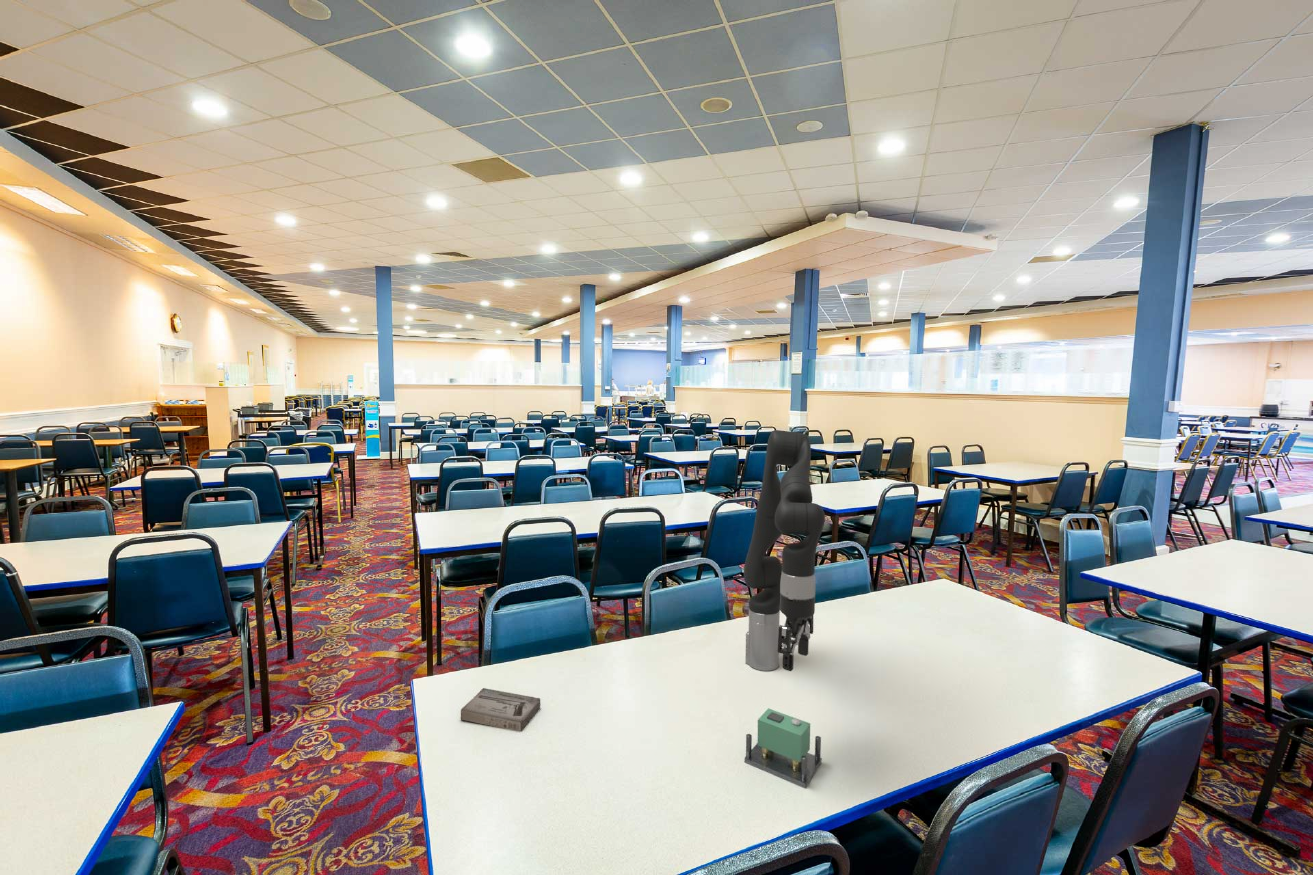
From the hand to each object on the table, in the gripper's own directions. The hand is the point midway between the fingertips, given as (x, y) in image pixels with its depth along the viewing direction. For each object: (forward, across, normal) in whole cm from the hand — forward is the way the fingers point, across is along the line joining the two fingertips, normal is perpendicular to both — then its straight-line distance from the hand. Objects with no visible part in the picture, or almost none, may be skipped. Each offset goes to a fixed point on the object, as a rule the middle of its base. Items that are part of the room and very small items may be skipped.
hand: (795, 661), depth 123 cm
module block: (+19, +4, -1) cm, 19 cm away
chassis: (+22, +4, -1) cm, 23 cm away
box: (+23, +30, -66) cm, 76 cm away
